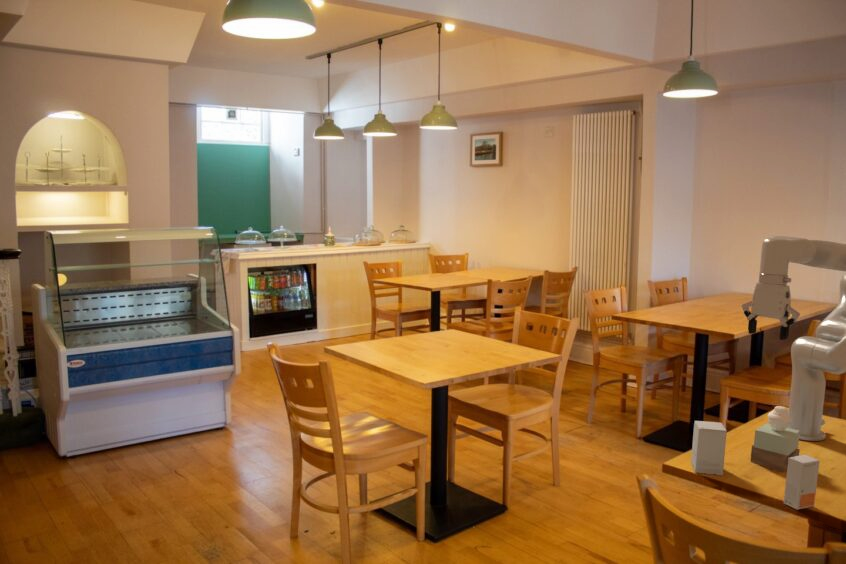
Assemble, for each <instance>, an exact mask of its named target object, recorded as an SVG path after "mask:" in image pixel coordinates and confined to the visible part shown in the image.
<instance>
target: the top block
mask: <svg viewBox="0 0 846 564" xmlns="http://www.w3.org/2000/svg"><path fill="white" fill-rule="evenodd" d="M799 434H800V431H798V430H794V429H790V428H786V429H785V430H784V431H782V432H779V431H775V430H773V429H771V427H770V424H769V423H768V422H766V423H764V424H763V425H760V427H758V428H756V429H755V430H754V439H753V440H754V441H753V445H754V447H756V448H760V449H763V450H767V451H771V452H775V453H779V454H783V455H786V456H788V455H789V454H791V453H792V452H793V451H795V450H796V449H799V442H800V439H799Z"/></svg>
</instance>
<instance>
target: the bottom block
mask: <svg viewBox="0 0 846 564" xmlns="http://www.w3.org/2000/svg"><path fill="white" fill-rule="evenodd" d="M800 450H801V449H799V448H797V449H796V450H795V451H793V452H792V453H791V454H789V455H788V456H786V455H783V454H779V453H775V452H771V451H767V450H763V449H760V448H756V447H754V444H751V451H750V453H751V454H750V461H751V462H750V463H753V462H754V463H753V464H756V465H758V466H761V467H764V468H768V469H770V470H773V471H776V472H780V473H783V472H786V471H787V467H788V459H789V458H790V457H795V456H800ZM785 470H786V471H785Z"/></svg>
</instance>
